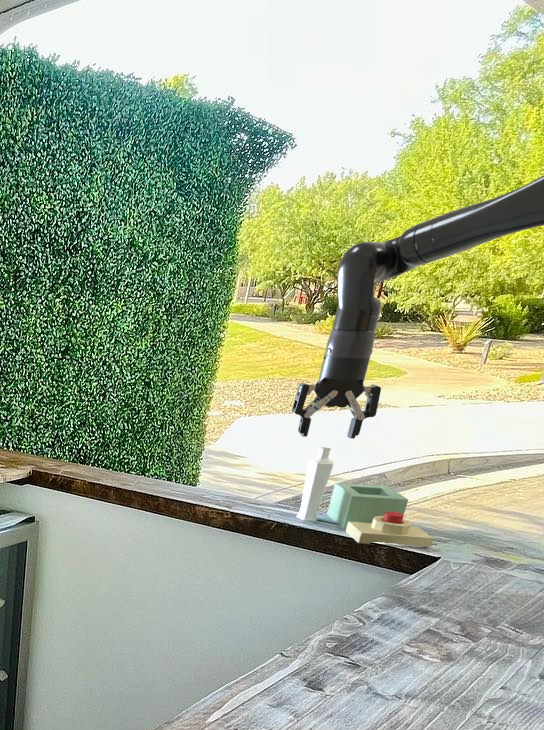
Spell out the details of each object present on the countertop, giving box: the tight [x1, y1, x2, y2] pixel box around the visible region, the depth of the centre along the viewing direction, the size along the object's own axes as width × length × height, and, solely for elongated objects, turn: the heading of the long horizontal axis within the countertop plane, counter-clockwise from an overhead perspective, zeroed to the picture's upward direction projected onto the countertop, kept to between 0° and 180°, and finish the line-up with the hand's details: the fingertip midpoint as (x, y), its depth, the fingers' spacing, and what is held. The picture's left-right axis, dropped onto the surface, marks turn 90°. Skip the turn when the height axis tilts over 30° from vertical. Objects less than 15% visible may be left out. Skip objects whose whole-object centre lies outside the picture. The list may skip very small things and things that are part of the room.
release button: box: [383, 512, 405, 524], centre depth 147 cm, size 3×3×2 cm
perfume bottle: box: [296, 446, 335, 522], centre depth 158 cm, size 5×4×15 cm
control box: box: [345, 516, 434, 548], centre depth 148 cm, size 12×7×4 cm, turn 75°
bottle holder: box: [326, 482, 409, 530], centre depth 156 cm, size 10×10×7 cm
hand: (326, 436), depth 154 cm, fingers open, 8 cm apart
